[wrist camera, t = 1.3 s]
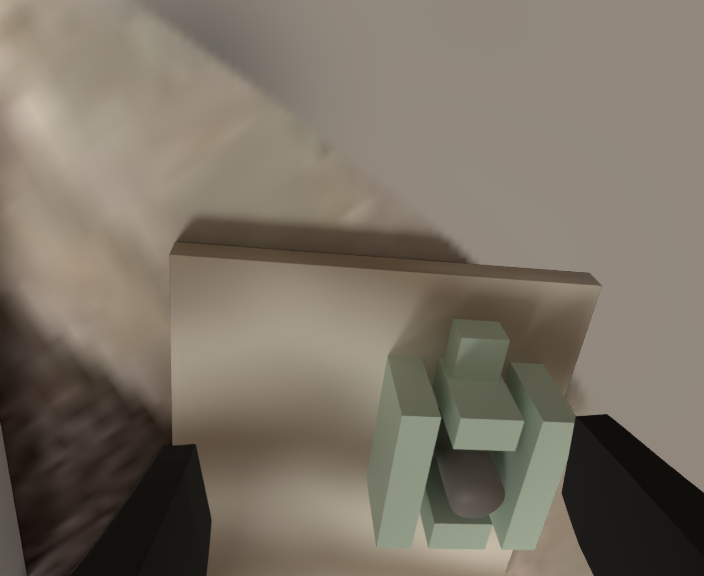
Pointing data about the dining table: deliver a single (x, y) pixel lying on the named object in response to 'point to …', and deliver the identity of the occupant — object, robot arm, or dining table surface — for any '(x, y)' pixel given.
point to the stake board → (338, 394)
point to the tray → (8, 524)
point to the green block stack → (467, 442)
